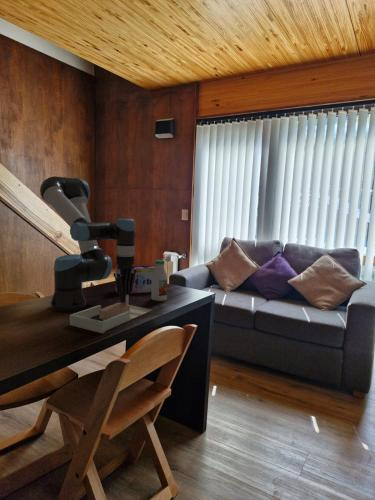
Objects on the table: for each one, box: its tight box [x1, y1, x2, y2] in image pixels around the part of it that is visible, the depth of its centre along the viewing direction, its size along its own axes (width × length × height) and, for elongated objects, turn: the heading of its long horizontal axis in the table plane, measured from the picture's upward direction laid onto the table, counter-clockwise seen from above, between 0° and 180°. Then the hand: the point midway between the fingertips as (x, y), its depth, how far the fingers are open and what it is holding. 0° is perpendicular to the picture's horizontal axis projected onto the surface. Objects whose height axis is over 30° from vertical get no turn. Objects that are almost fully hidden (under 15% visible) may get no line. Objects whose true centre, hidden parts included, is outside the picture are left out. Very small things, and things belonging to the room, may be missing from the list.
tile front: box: [98, 305, 121, 321], centre depth 141 cm, size 6×6×4 cm
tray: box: [69, 304, 131, 334], centre depth 136 cm, size 16×16×4 cm
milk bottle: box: [150, 259, 168, 302], centre depth 173 cm, size 8×8×20 cm
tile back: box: [109, 302, 131, 314], centre depth 146 cm, size 6×6×4 cm
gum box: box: [115, 264, 156, 294], centre depth 190 cm, size 24×8×14 cm, turn 113°
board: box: [129, 304, 153, 321], centre depth 151 cm, size 17×16×1 cm
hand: (124, 309), depth 150 cm, fingers closed
